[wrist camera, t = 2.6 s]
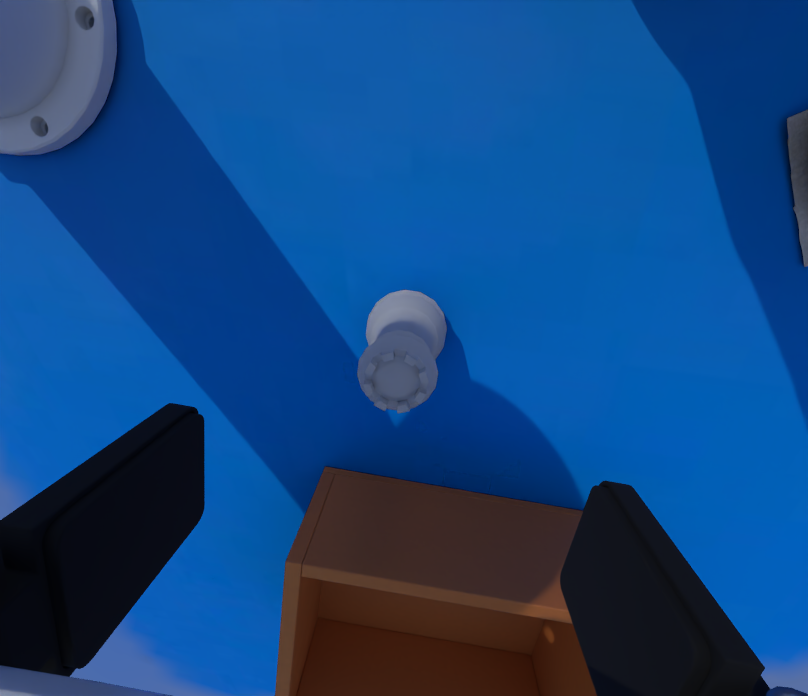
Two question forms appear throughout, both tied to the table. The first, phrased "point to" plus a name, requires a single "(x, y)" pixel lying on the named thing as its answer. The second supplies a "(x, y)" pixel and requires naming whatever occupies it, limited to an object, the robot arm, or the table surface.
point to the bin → (427, 594)
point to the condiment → (800, 173)
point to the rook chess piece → (402, 350)
